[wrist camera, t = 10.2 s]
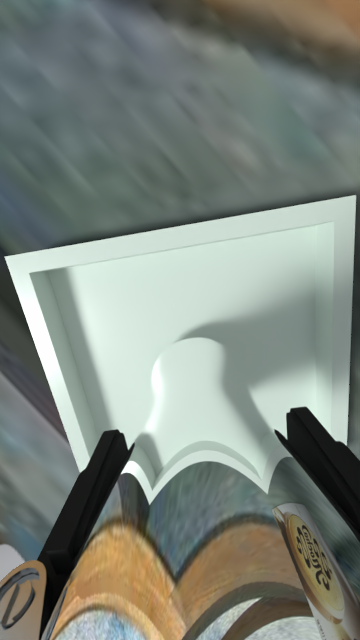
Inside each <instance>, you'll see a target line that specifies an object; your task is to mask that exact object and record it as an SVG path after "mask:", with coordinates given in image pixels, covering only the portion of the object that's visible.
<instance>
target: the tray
mask: <svg viewBox="0 0 360 640" xmlns="http://www.w3.org/2000/svg"><path fill="white" fill-rule="evenodd" d="M355 212H356V195H353V196H347V197H342V198H336V199H330V200H325V201H319V202H313V203H308V204H302V205H296V206H291V207H285V208H279V209H274V210H268V211H262V212H257V213H251V214H245V215H240V216H234V217H228V218H223V219H217V220H211V221H206V222H200V223H194V224H188V225H183V226H177V227H171V228H166V229H160V230H154V231H149V232H143V233H137V234H132V235H126V236H120V237H115V238H109V239H103V240H98V241H92V242H86V243H81V244H75V245H69V246H64V247H58V248H52V249H47V250H41V251H35V252H30V253H24V254H18V255H13V256H7V257H5V259H6V262H7V265H8V268H9V271H10V274H11V276H12V279H13V282H14V285H15V288H16V291H17V294H18V296H19V299H20V302H21V305H22V308H23V311H24V314H25V316H26V319H27V322H28V325H29V328H30V331H31V334H32V337H33V339H34V342H35V345H36V348H37V351H38V354H39V357H40V359H41V362H42V365H43V368H44V371H45V374H46V377H47V379H48V382H49V385H50V388H51V391H52V394H53V397H54V400H55V402H56V405H57V408H58V411H59V414H60V417H61V420H62V422H63V425H64V428H65V431H66V434H67V437H68V440H69V442H70V445H71V448H72V451H73V454H74V457H75V460H76V463H77V465H78V468H79V471H80V473H81V472H82V471H83V470H84V469H86V467H87V465H88V463H89V461H90V458H91V456H92V454H93V452H94V450H95V448H96V446H97V444H98V442H99V440H100V438H101V435H102V433H103V432H104V431H108V430H116V429H118V430H119V431H120V433H124V436H125V440H126V443H127V447H128V450H129V448H130V447H131V445H132V443H133V441H134V439H135V437H136V436H137V434H138V432H139V430H140V428H141V426H142V424H143V422H144V420H145V418H146V416H147V413H148V410H149V406H150V376H151V372H152V368H153V366H154V364H155V362H156V360H157V359H158V357H159V356H160V355H161V354H162V353H163V352H164V351H165V350H166V349H167V348H168V347H170V346H171V345H173V344H174V343H176V342H178V341H181V340H184V339H187V338H193V337H206V338H212V339H216V340H219V341H221V342H223V343H225V344H227V345H228V346H230V347H231V348H233V349H234V350H235V351H236V352H237V353H238V354H239V355H240V357H241V358H242V359H243V361H244V363H245V365H246V367H247V370H248V373H249V377H250V382H251V388H252V393H253V396H254V398H255V400H256V402H257V403H258V405H259V407H260V408H261V409H262V410H263V412H264V413H265V414H266V415H267V417H268V418H269V419H270V420H271V422H272V423H273V424H274V425H275V426H276V427H277V428H278V430H279V431H280V432H281V433H282V434H283V435H284V437H285V438H286V439H287V423H286V413H288V412H290V409H291V408H296V407H304V406H305V407H307V408H308V409H309V410H310V411H311V412H312V413H313V415H314V416H315V417H316V418H317V419H318V421H319V422H320V423H321V424H322V425H323V427H324V428H325V429H326V430H327V431H328V433H329V434H330V435H331V436H332V437H333V439H334V440H335V441H341V442H343V443H344V444H345V445H346V446H347V428H348V401H349V374H350V347H351V320H352V293H353V266H354V239H355Z"/></svg>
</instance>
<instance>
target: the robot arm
mask: <svg viewBox="0 0 360 640" xmlns="http://www.w3.org/2000/svg"><path fill="white" fill-rule="evenodd" d="M286 423H287V440H288V441H289V442H290V444H291V445H292V446H293V447H294V448H295V449H296V451H297V452H298V453H299V454H300V455H301V457H302V458H303V459H304V460H305V461H306V463H307V464H308V465H309V466H310V467H311V468H312V470H313V471H314V472H315V473H316V474H317V476H318V477H319V478H320V479H321V480H322V482H323V483H324V484H325V485H326V487H327V488H328V489H329V490H330V492H331V493H332V494H333V496H334V497H335V498H336V500H337V501H338V502H339V503H340V505H341V506H342V507H343V509H344V510H345V511H346V512H347V514H348V515H349V516H350V518H351V519H352V520H353V522H354V523H355V524H356V525H357V527H358V528H359V529H360V461H359V460H358V458H357V457H356V456H355V455H354V454H353V453H352V452H351V450H350V449H349V448H348V447H347V446H346V445H345V444H344V443H343V442H341V441H335V440H334V439H333V437H332V436H331V435H330V434H329V433H328V431H327V430H326V429H325V428H324V427H323V425H322V424H321V423H320V422H319V421H318V419H317V418H316V417H315V416H314V415H313V413H312V412H311V411H310V410H309V409H308V408H307V407H305V406H304V407H296V408H291V409H290V412H288V413H286ZM127 452H128V447H127V443H126V440H125V436H124V433H120V431H119V430H118V429H116V430H108V431H104V432H103V433H102V435H101V438H100V440H99V442H98V444H97V446H96V448H95V450H94V452H93V454H92V456H91V458H90V461H89V463H88V465H87V467H86V469H84V470H83V471H82V472H81V473H80V475H79V476H78V478H77V480H76V482H75V484H74V486H73V488H72V490H71V492H70V494H69V496H68V498H67V500H66V502H65V505H64V507H63V509H62V511H61V513H60V515H59V517H58V519H57V521H56V523H55V525H54V527H53V529H52V531H51V533H50V535H49V537H48V539H47V541H46V543H45V545H44V547H43V549H42V551H41V553H40V555H39V557H38V559H37V561H28V562H26V563H23V564H21V565H19V566H18V567H16V568H15V569H13V570H12V571H11V572H10V573H9V574H8V575H6V576H5V577H4V578H3V579H2V580H1V581H0V640H41V638H42V635H43V633H44V630H45V628H46V625H47V623H48V620H49V618H50V615H51V613H52V610H53V608H54V606H55V603H56V601H57V598H58V596H59V593H60V591H61V588H62V586H63V583H64V581H65V578H66V576H67V573H68V571H69V569H70V566H71V564H72V562H73V560H74V558H75V556H76V554H77V552H78V550H79V547H80V545H81V543H82V541H83V539H84V537H85V535H86V533H87V531H88V529H89V526H90V524H91V522H92V520H93V518H94V516H95V514H96V512H97V510H98V508H99V506H100V503H101V501H102V499H103V497H104V495H105V493H106V492H107V490H108V488H109V486H110V484H111V482H112V480H113V478H114V476H115V475H116V473H117V471H118V469H119V467H120V465H121V463H122V461H123V459H124V458H125V456H126V454H127Z"/></svg>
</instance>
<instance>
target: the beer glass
mask: <svg viewBox="0 0 360 640" xmlns="http://www.w3.org/2000/svg"><path fill="white" fill-rule="evenodd" d="M41 640H360V529H359V528H358V527H357V525H356V524H355V523H354V522H353V520H352V519H351V518H350V516H349V515H348V514H347V512H346V511H345V510H344V509H343V507H342V506H341V505H340V503H339V502H338V501H337V500H336V498H335V497H334V496H333V494H332V493H331V492H330V490H329V489H328V488H327V487H326V485H325V484H324V483H323V482H322V480H321V479H320V478H319V477H318V476H317V474H316V473H315V472H314V471H313V470H312V468H311V467H310V466H309V465H308V464H307V463H306V461H305V460H304V459H303V458H302V457H301V455H300V454H299V453H298V452H297V451H296V449H295V448H294V447H293V446H292V445H291V444H290V442H289V441H288V440H287V439H286V438H285V437H284V435H283V434H282V433H281V432H280V431H279V430H278V428H277V427H276V426H275V425H274V424H273V423H272V422H271V420H270V419H269V418H268V417H267V415H266V414H265V413H264V412H263V410H262V409H261V408H260V407H259V405H258V403H257V402H256V400H255V398H254V396H253V393H252V388H251V382H250V377H249V373H248V370H247V367H246V365H245V363H244V361H243V359H242V358H241V357H240V355H239V354H238V353H237V352H236V351H235V350H234V349H233V348H231V347H230V346H228V345H227V344H225V343H223V342H221V341H219V340H216V339H212V338H206V337H193V338H187V339H184V340H181V341H178V342H176V343H174V344H173V345H171V346H170V347H168V348H167V349H166V350H165V351H164V352H163V353H162V354H161V355H160V356H159V357H158V359H157V360H156V362H155V364H154V366H153V368H152V372H151V376H150V406H149V410H148V413H147V416H146V418H145V420H144V422H143V424H142V426H141V428H140V430H139V432H138V434H137V436H136V437H135V439H134V441H133V443H132V445H131V447H130V448H129V450H128V452H127V454H126V456H125V458H124V459H123V461H122V463H121V465H120V467H119V469H118V471H117V473H116V475H115V476H114V478H113V480H112V482H111V484H110V486H109V488H108V490H107V492H106V493H105V495H104V497H103V499H102V501H101V503H100V506H99V508H98V510H97V512H96V514H95V516H94V518H93V520H92V522H91V524H90V526H89V529H88V531H87V533H86V535H85V537H84V539H83V541H82V543H81V545H80V547H79V550H78V552H77V554H76V556H75V558H74V560H73V562H72V564H71V566H70V569H69V571H68V573H67V576H66V578H65V581H64V583H63V586H62V588H61V591H60V593H59V596H58V598H57V601H56V603H55V606H54V608H53V610H52V613H51V615H50V618H49V620H48V623H47V625H46V628H45V630H44V633H43V635H42V638H41Z"/></svg>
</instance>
